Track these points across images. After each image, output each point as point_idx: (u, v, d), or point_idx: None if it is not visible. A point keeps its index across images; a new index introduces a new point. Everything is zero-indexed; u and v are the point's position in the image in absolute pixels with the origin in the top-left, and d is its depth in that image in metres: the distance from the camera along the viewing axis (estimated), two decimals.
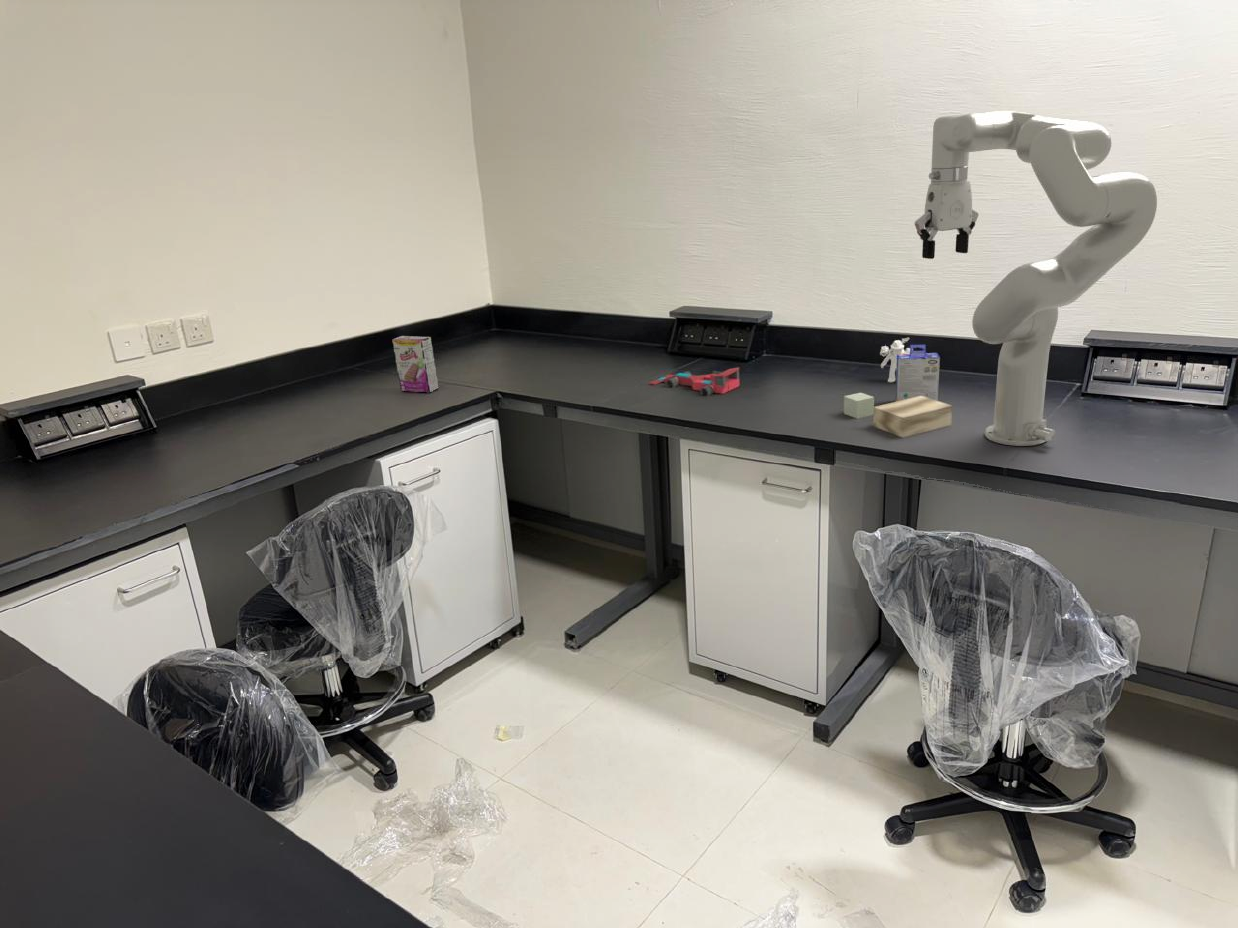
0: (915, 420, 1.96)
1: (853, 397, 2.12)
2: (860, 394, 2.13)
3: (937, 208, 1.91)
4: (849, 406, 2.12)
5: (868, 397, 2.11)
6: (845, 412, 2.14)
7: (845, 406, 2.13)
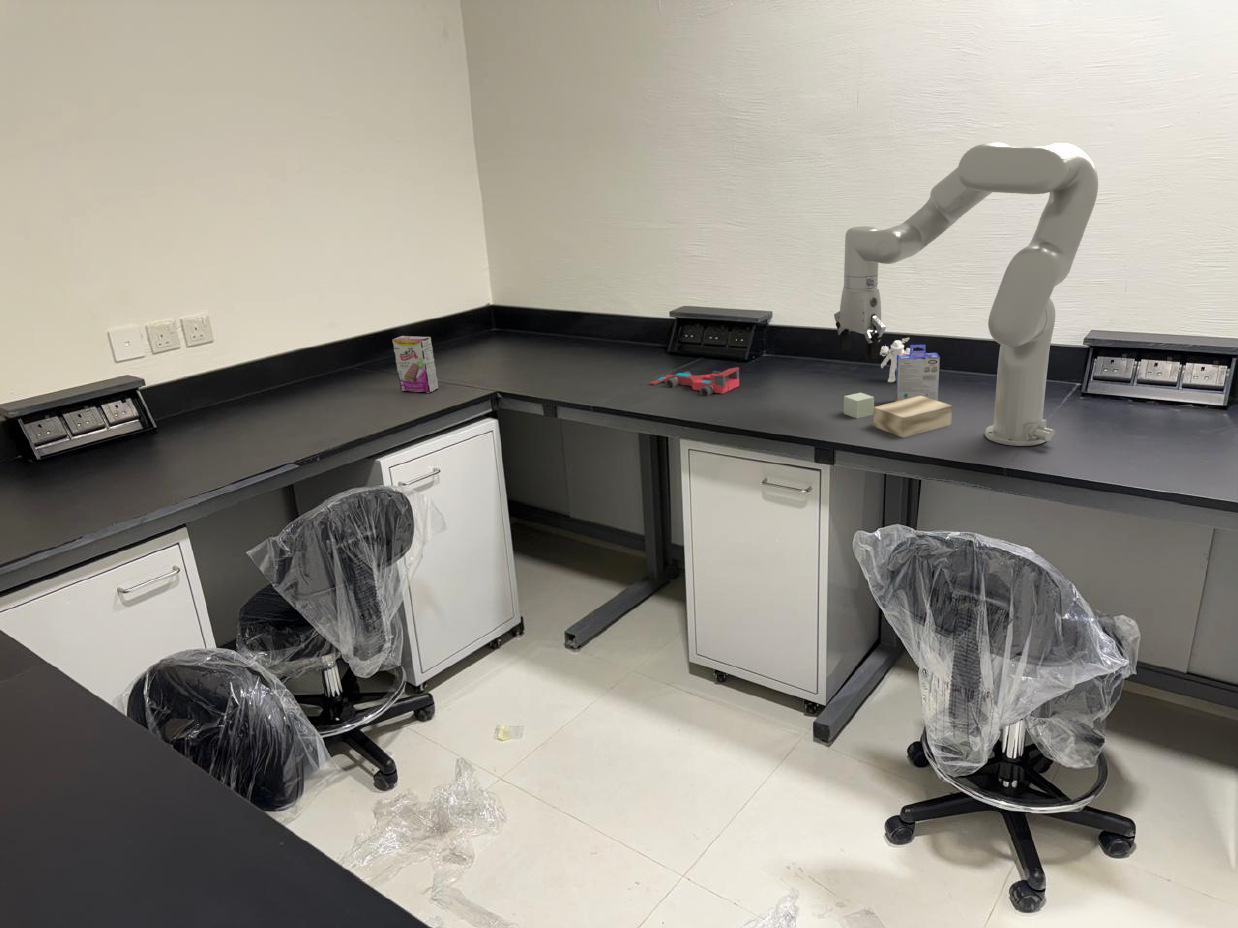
0: (916, 420, 1.96)
1: (853, 397, 2.12)
2: (860, 394, 2.13)
3: (880, 311, 2.01)
4: (849, 406, 2.12)
5: (868, 397, 2.11)
6: (845, 412, 2.14)
7: (845, 406, 2.13)
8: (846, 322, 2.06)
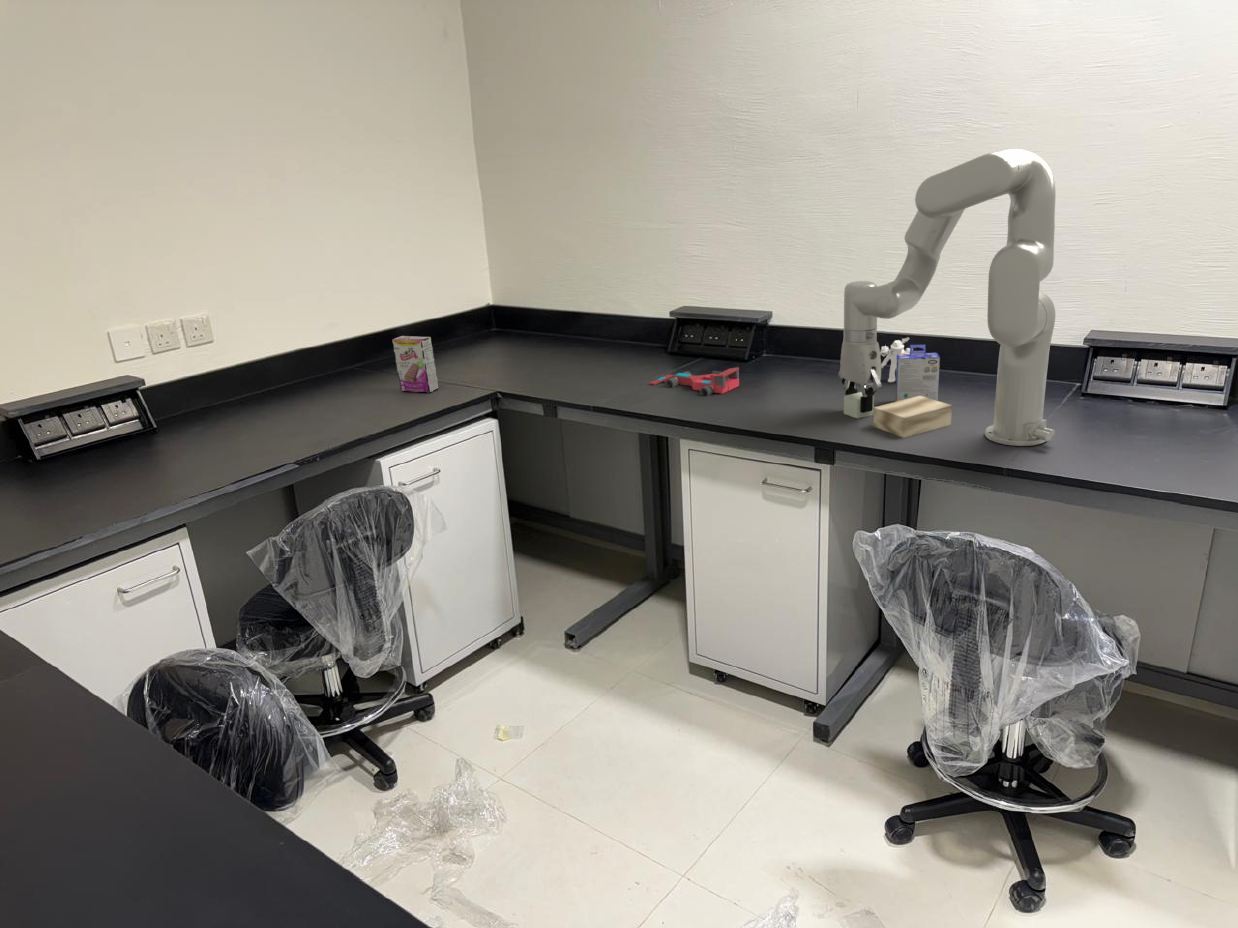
0: (916, 420, 1.96)
1: (853, 396, 2.12)
2: (860, 394, 2.13)
3: (880, 363, 2.05)
4: (849, 406, 2.12)
5: None
6: (845, 412, 2.14)
7: (845, 406, 2.13)
8: (847, 373, 2.10)
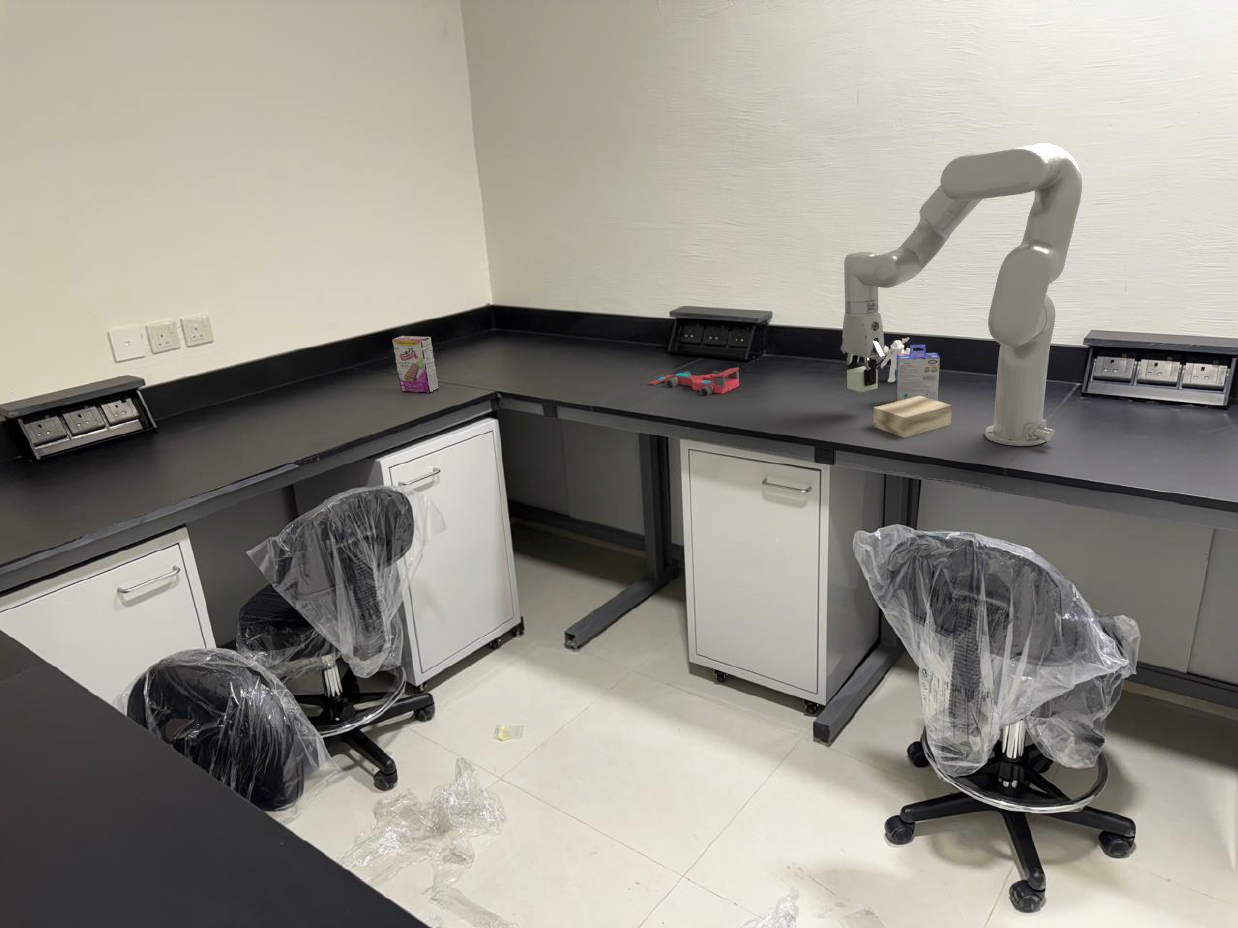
0: (916, 420, 1.96)
1: (856, 370, 2.09)
2: (863, 367, 2.10)
3: (882, 334, 2.02)
4: (852, 380, 2.09)
5: None
6: (849, 386, 2.11)
7: (848, 380, 2.10)
8: (849, 347, 2.08)
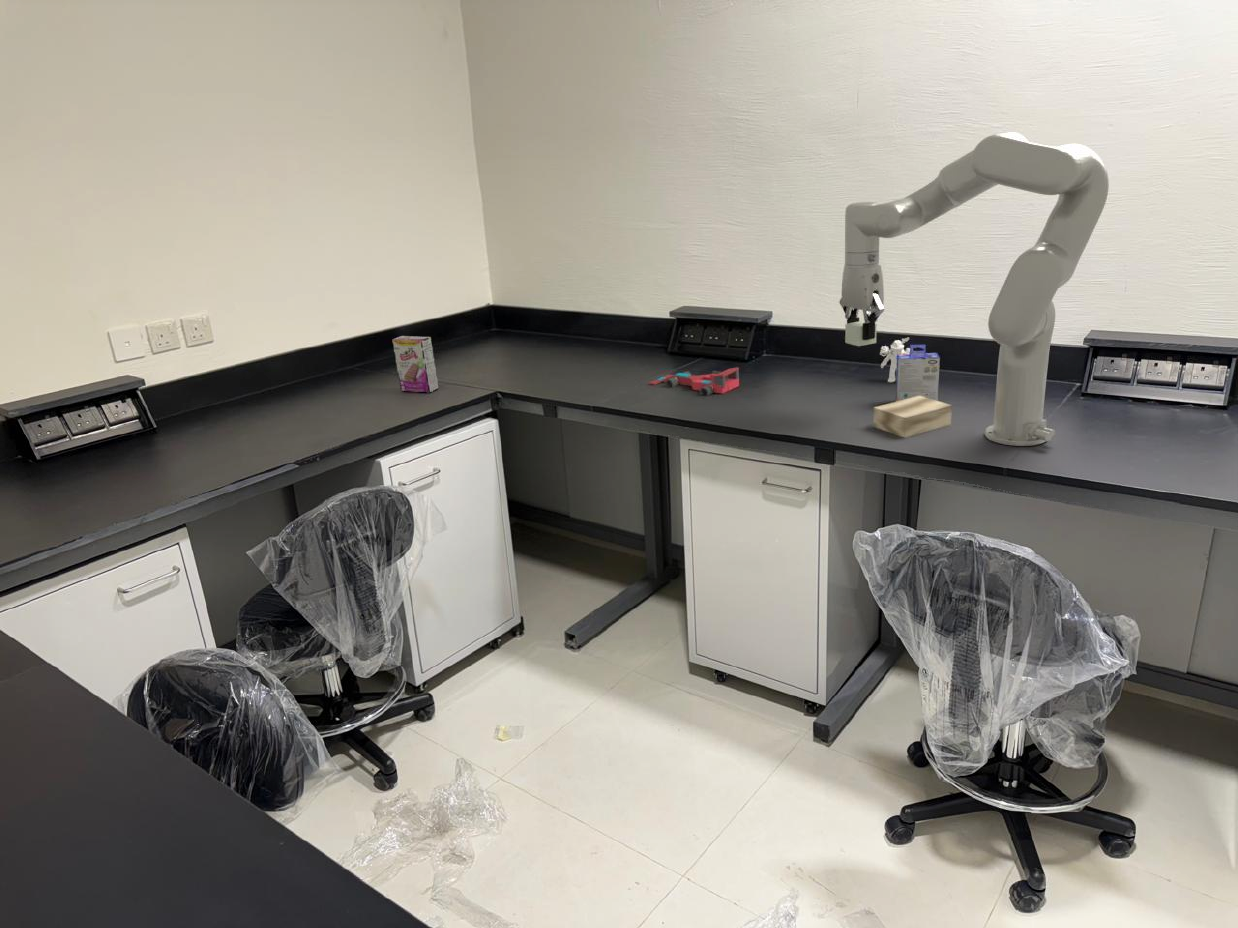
0: (917, 420, 1.96)
1: (855, 324, 2.05)
2: (862, 322, 2.07)
3: (882, 287, 1.99)
4: (851, 334, 2.05)
5: None
6: (847, 341, 2.07)
7: (847, 334, 2.07)
8: (848, 300, 2.04)
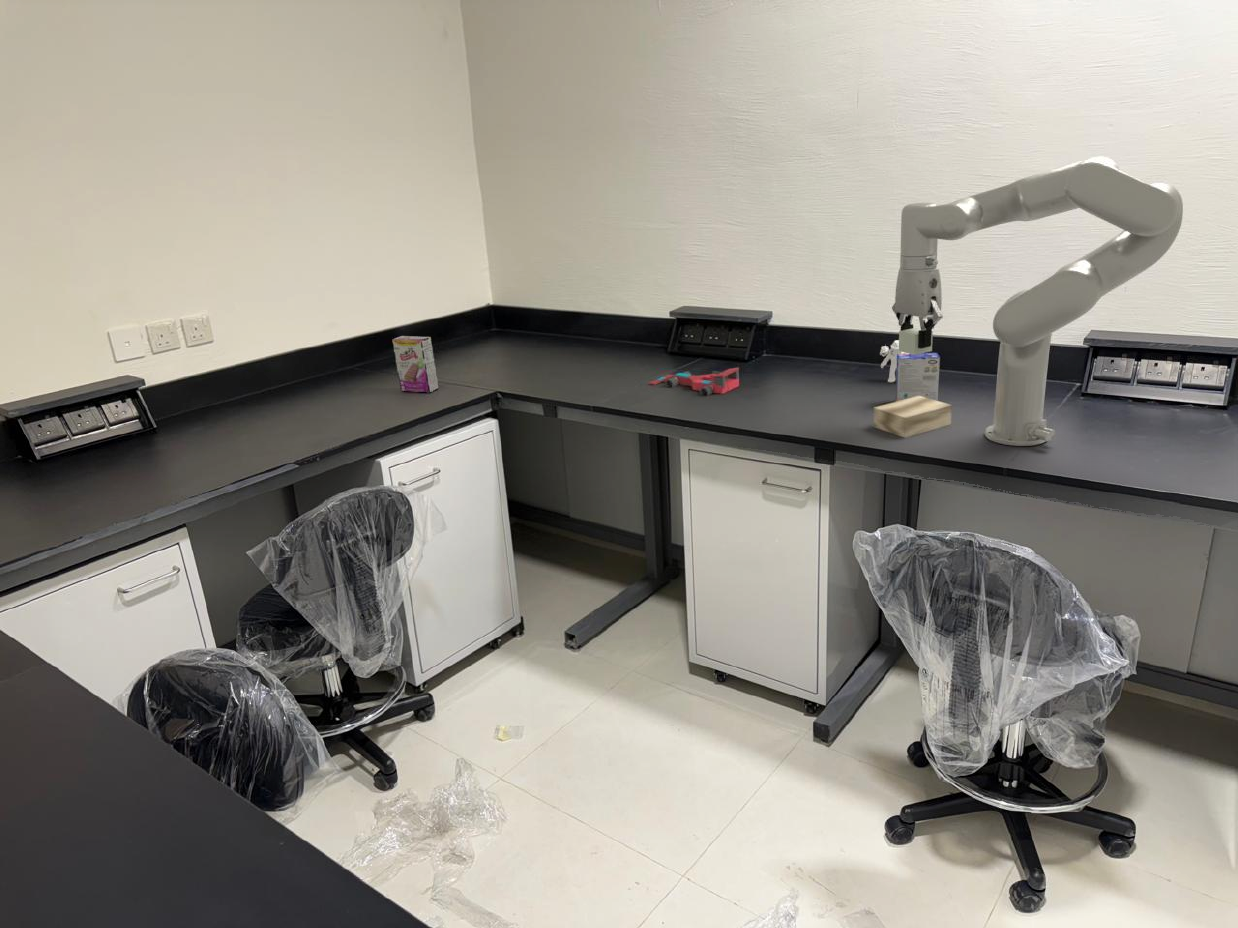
0: (917, 420, 1.96)
1: (909, 331, 1.95)
2: (917, 329, 1.96)
3: (940, 292, 1.88)
4: (905, 341, 1.95)
5: None
6: (900, 348, 1.97)
7: (900, 342, 1.96)
8: (903, 306, 1.93)
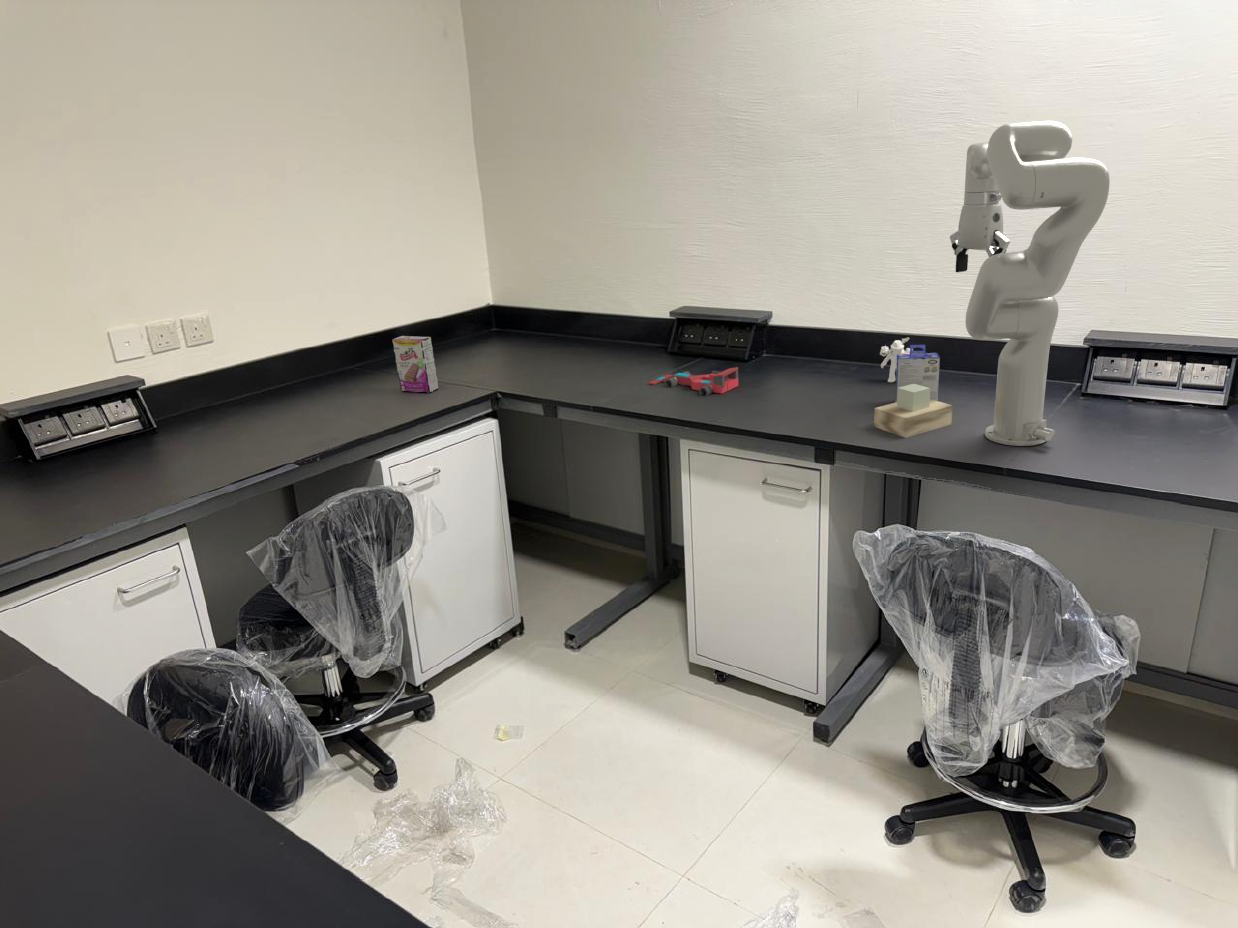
0: (918, 420, 1.96)
1: (908, 388, 1.99)
2: (914, 385, 2.01)
3: (1002, 227, 2.01)
4: (904, 398, 1.99)
5: (924, 388, 1.98)
6: (899, 405, 2.01)
7: (899, 398, 2.01)
8: (965, 241, 2.07)
